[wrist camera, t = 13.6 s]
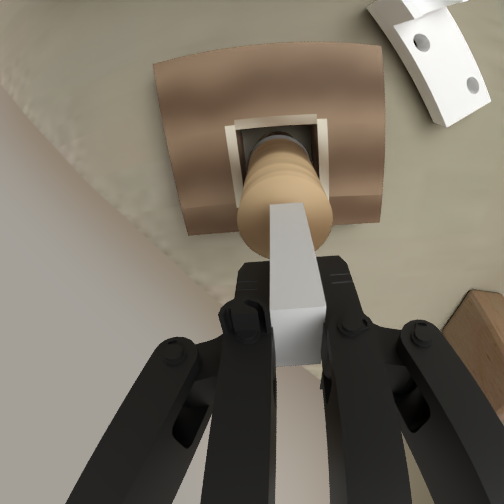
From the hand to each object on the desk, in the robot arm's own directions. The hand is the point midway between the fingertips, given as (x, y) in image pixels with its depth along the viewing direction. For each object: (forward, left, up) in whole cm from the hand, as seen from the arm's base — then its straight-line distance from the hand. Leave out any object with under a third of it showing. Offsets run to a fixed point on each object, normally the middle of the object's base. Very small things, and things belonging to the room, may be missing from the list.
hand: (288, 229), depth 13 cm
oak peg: (0, 0, -15) cm, 15 cm away
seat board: (-2, 0, -15) cm, 15 cm away
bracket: (-11, +16, -15) cm, 24 cm away
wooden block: (+26, +32, -15) cm, 44 cm away
